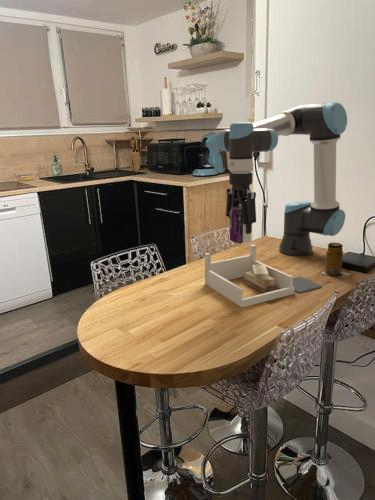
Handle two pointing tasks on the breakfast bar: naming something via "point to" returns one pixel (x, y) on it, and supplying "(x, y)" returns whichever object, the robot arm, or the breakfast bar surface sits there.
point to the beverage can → (236, 224)
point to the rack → (236, 268)
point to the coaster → (304, 285)
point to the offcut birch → (260, 272)
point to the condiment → (334, 261)
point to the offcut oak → (260, 283)
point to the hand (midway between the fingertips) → (240, 239)
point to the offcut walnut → (259, 286)
